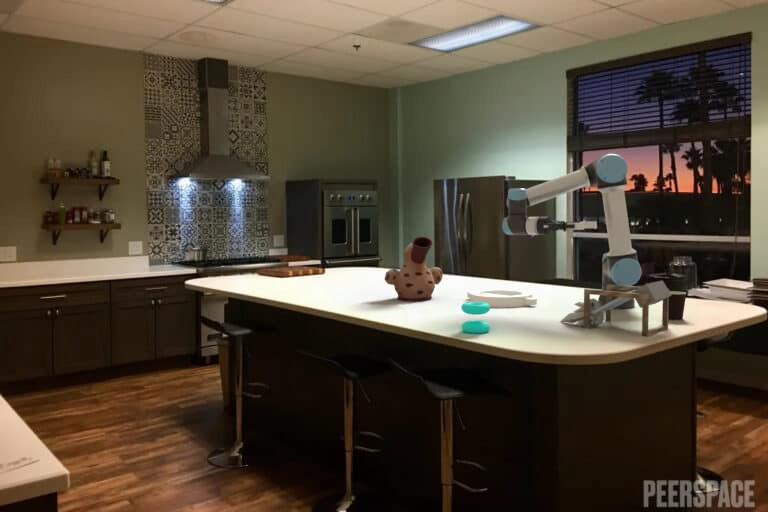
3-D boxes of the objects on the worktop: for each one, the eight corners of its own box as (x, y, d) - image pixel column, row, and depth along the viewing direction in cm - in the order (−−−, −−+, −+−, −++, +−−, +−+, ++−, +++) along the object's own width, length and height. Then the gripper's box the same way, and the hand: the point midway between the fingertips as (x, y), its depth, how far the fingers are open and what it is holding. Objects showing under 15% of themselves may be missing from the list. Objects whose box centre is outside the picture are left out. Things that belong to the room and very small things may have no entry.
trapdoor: (601, 328, 230) (592, 311, 232) (619, 322, 241) (610, 306, 243) (654, 300, 216) (644, 282, 218) (672, 295, 227) (662, 278, 229)
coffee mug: (684, 321, 244) (684, 294, 243) (659, 319, 249) (659, 293, 248) (688, 316, 254) (688, 291, 253) (664, 314, 258) (665, 289, 258)
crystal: (602, 298, 242) (568, 308, 253) (583, 298, 233) (548, 308, 244) (609, 324, 239) (575, 333, 250) (590, 325, 231) (555, 334, 241)
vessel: (431, 294, 326) (430, 234, 324) (455, 300, 306) (454, 236, 304) (379, 298, 313) (378, 236, 311) (400, 304, 294) (400, 238, 291)
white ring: (538, 307, 283) (538, 296, 282) (473, 308, 283) (473, 297, 283) (525, 298, 311) (525, 288, 310) (466, 299, 311) (466, 289, 311)
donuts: (480, 300, 235) (495, 304, 226) (480, 327, 236) (495, 332, 227) (456, 302, 232) (470, 306, 222) (456, 330, 232) (470, 335, 223)
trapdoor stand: (583, 328, 233) (584, 289, 232) (607, 321, 246) (607, 284, 245) (646, 336, 217) (647, 294, 216) (668, 328, 231) (668, 289, 230)
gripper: (551, 233, 277) (601, 233, 264) (525, 236, 257) (578, 236, 244) (551, 215, 277) (601, 215, 263) (525, 217, 257) (577, 216, 244)
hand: (590, 225), depth 254 cm, fingers open, 13 cm apart
